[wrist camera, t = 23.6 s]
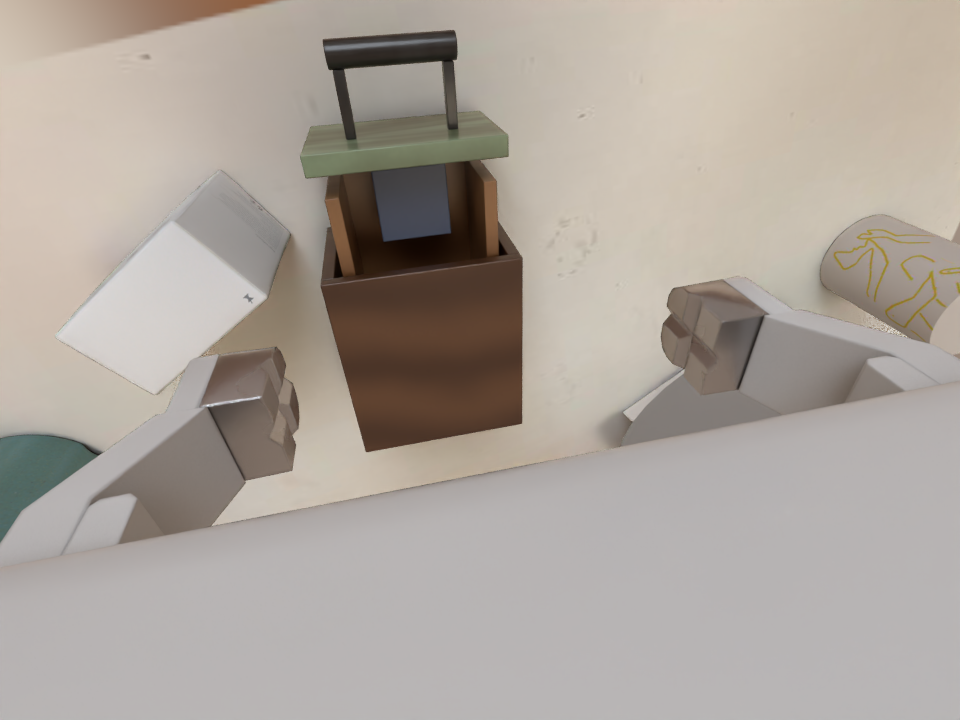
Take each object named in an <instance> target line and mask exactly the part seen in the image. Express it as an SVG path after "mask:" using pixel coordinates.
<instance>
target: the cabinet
mask: <svg viewBox="0 0 960 720" xmlns="http://www.w3.org/2000/svg"><path fill="white" fill-rule="evenodd" d="M498 245H499V256H496V257H488V258H481V259H474V260H466V261H459V262H452V263H444V264H437V265H429V266H422V267H415V268H407V269H400V270H393V271H385V272H378V273H370V274H363V275H356V276H348V277H343V274H342V270H341V266H340V262H339V258H338V253H337V249H336V245H335V241H334V237H333V233H332V228H331V227H330V228H327V236H326V245H325V253H324V261H323V270H322V278H321V290H322V293H323V297H324V300H325V304H326V308H327V311H328V315H329V319H330V322H331V326H332V330H333V333H334V337H335V341H336V344H337V348H338V352H339V355H340V359H341V363H342V366H343V370H344V373H345V377H346V381H347V384H348V388H349V392H350V395H351V399H352V403H353V406H354V410H355V414H356V417H357V421H358V425H359V428H360V432H361V436H362V439H363V443H364V446H365V450H366V452H371V451H376V450H382V449H387V448H392V447H398V446H403V445H409V444H414V443H420V442H425V441H431V440H436V439H441V438H447V437H452V436H458V435H463V434H469V433H474V432H479V431H485V430H490V429H496V428H501V427H507V426H512V425H517V424H522V268H523V258H522V257H521V255H520V254H519V252H518V251H517V249H516V247H515V246H514V244H513V243H512V241H511V240H510V238H509V237H508V235H507V234H506V232H505V231H504V229H503V228H502V226H501V225H500V223H499V222H498Z"/></svg>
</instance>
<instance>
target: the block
mask: <svg viewBox="0 0 960 720" xmlns="http://www.w3.org/2000/svg"><path fill="white" fill-rule="evenodd" d="M371 175H372V181H373V186H374V192H375V198H376V203H377V209H378V215H379V220H380V226H381V232H382V237H383V241H384V242H387V241H395V240H403V239H411V238H418V237H426V236H434V235H442V234H450V233H451V223H450V212H449V201H448V189H447V178H446V167H445V164H436V165H427V166H418V167H409V168H399V169H390V170H381V171H372V172H371Z"/></svg>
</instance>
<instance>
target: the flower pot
mask: <svg viewBox="0 0 960 720" xmlns="http://www.w3.org/2000/svg"><path fill="white" fill-rule="evenodd" d="M97 456H98V455H95V454H93V453H91V452H90V451H88V450H87V449H86V448H85V447H84V445H83V444H80V443H77V442H74V441H71V440H67V439H63V438H58V437H52V436H42V435H19V436H11V437H6V438H1V439H0V543H1V541H2V540H3V538H4V537H5V535H6V534H7V532H8V531H9V529H10V528H11V526H12V525H13V523H14V522H15V520H16V519H17V517H18V516H19V514H20V513H21V511H22V510H23V509H25V508H26V507H28V506H29V505H30V504H32V503H33V502H35V501H36V500H37V499H39V498H40V497H42V496H43V495H44V494H46V493H47V492H49V491H50V490H51V489H53V488H54V487H56V486H57V485H58V484H60V483H61V482H63V481H64V480H65V479H67V478H68V477H70V476H71V475H72V474H74V473H75V472H77V471H78V470H79V469H81V468H82V467H84V466H85V465H86V464H88V463H89V462H91V461H92V460H93V459H95V458H96V457H97Z"/></svg>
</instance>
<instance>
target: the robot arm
mask: <svg viewBox="0 0 960 720" xmlns="http://www.w3.org/2000/svg"><path fill="white" fill-rule="evenodd" d="M667 307H668V309H669V311H670V312H671V315H670V316H669V317H668V318H667V319H666V321H665V322H664V323H663V326H662V332H661V341H662V348H663V350H664V352H665V355H666V357H667V358H668V359H669V360H670V361H671V363H672V364H674V365H676V366H679V367H681V368H684V369H685V370H684V377H685V379H686V380H687V381H688V382H689V383H690V384H691V385H692V386H693V387H694V389H695V390H696V391H697V392H698V393H699V394H700V395H701V396H702V395H708V394H714V393H721V392H727V391H734V390H738V392H740V393H742V394H744V395H746V396H748V397H750V398H751V399H753V400H755V401H757V402H759V403H761V404H763V405H765V406H767V407H768V408H770V409H772V410H774V411H776V412H778V413H780V414H782V415H781V416H776V417H771V418H766V419H760V420H755V421H750V422H745V423H740V424H735V425H730V426H724V427H719V428H714V429H709V430H704V431H699V432H694V433H688V434H683V435H678V436H673V437H668V438H663V439H658V440H652V441H647V442H642V443H637V444H632V445H627V446H622V447H617V448H612V449H607V450H601V451H596V452H591V453H586V454H581V455H576V456H571V457H565V458H560V459H555V460H550V461H545V462H540V463H535V464H529V465H524V466H519V467H514V468H509V469H504V470H499V471H493V472H488V473H483V474H478V475H473V476H468V477H462V478H457V479H452V480H447V481H442V482H437V483H432V484H426V485H421V486H416V487H411V488H406V489H401V490H396V491H390V492H385V493H380V494H375V495H370V496H365V497H360V498H354V499H349V500H344V501H339V502H334V503H329V504H324V505H318V506H313V507H308V508H303V509H298V510H293V511H288V512H282V513H277V514H272V515H267V516H262V517H257V518H252V519H246V520H241V521H236V522H231V523H226V524H221V525H216V526H211V525H212V524H213V523H214V522H215V520H216V519H217V518H218V517H219V515H220V514H221V513H222V512H223V511H224V509H225V508H226V507H227V506H228V504H229V503H230V502H231V501H232V499H233V498H234V497H235V496H236V494H237V493H238V492H239V491H240V489H241V488H242V487H243V486H244V484H245V481H246V480H251V479H255V478H260V477H265V476H270V475H274V474H279V473H284V472H289V471H292V470H293V463H294V456H295V449H296V444H295V441H294V438H293V436H292V434H293V433H294V432H295V431H296V430H297V429H298V426H299V406H298V400H297V396H296V392H295V389H294V386H293V383H292V382H290V381H289V380H287V379H286V378H284V374H285V368H286V364H285V361H284V359H283V356H282V354H281V351H280V350H279V349H278V348H277V347H272V348H265V349H257V350H249V351H242V352H234V353H227V354H222V355H221V354H217V355H211V356H205V357H199V358H194V359H192V360H190V361H189V363H188V365H187V367H186V369H185V372H184V374H183V376H182V378H181V380H180V382H179V384H178V386H177V388H176V391H175V393H174V395H173V397H172V399H171V401H170V403H169V405H168V407H167V410H166V412H165V413H164V414H158V415H155V416H153V417H152V418H151V419H149V420H148V421H146V422H145V423H144V424H142V425H141V426H139V427H138V428H137V429H135V430H134V431H132V432H131V433H130V434H128V435H127V436H125V437H124V438H123V439H121V440H120V441H118V442H117V443H116V444H114V445H113V446H111V447H110V448H109V449H107V450H106V451H104V452H103V453H102V454H100V455H99V456H97V457H96V458H95V459H93V460H92V461H91V462H89V463H88V464H86V465H85V466H84V467H82V468H81V469H79V470H78V471H77V472H75V473H74V474H72V475H71V476H70V477H68V478H67V479H65V480H64V481H63V482H61V483H60V484H58V485H57V486H56V487H54V488H53V489H51V490H50V491H49V492H47V493H46V494H44V495H43V496H42V497H40V498H39V499H37V500H36V501H35V502H33V503H32V504H30V505H29V506H28V507H26V508H25V509H23V510H22V511H21V513H20V514H19V516H18V517H17V519H16V520H15V522H14V523H13V525H12V526H11V528H10V529H9V531H8V532H7V534H6V535H5V537H4V538H3V540H2V541H1V543H0V720H960V359H958V358H956V357H955V356H953V355H951V354H950V353H948V352H946V351H944V350H943V349H941V348H939V347H938V346H936V345H932V344H928V343H925V342H921V341H917V340H913V339H910V338H906V337H902V336H898V335H895V334H891V333H887V332H883V331H880V330H876V329H872V328H868V327H865V326H861V325H857V324H853V323H850V322H846V321H842V320H838V319H835V318H831V317H827V316H823V315H820V314H816V313H812V312H808V311H805V310H795V311H794V310H793V309H791V308H790V307H788V306H787V305H786V304H784V303H783V302H781V301H780V300H778V299H777V298H775V297H774V296H772V295H771V294H770V293H768V292H767V291H765V290H764V289H762V288H761V287H759V286H758V285H756V284H755V283H754V282H752V281H751V280H749V279H748V278H746V277H741V276H736V277H731V278H726V279H721V280H716V281H710V282H705V283H699V284H693V285H688V286H682V287H677V288H673V289H672V291H671V293H670V294H669V297H668V302H667Z"/></svg>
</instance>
